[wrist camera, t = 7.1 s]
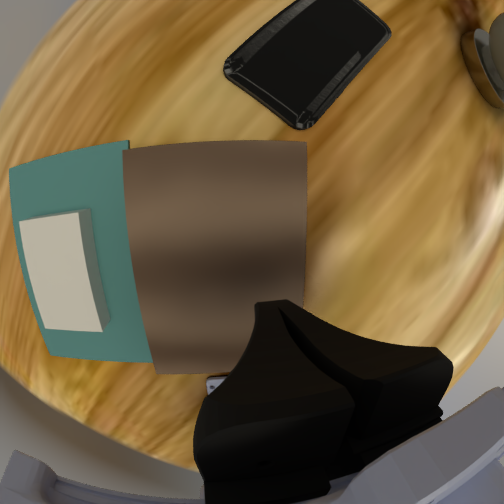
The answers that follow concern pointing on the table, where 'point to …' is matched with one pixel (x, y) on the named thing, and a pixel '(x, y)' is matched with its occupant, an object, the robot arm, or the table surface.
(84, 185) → the mat
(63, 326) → the white rectangular block
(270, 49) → the phone
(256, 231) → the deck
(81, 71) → the table surface
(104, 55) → the table surface
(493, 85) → the lamp
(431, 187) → the table surface
